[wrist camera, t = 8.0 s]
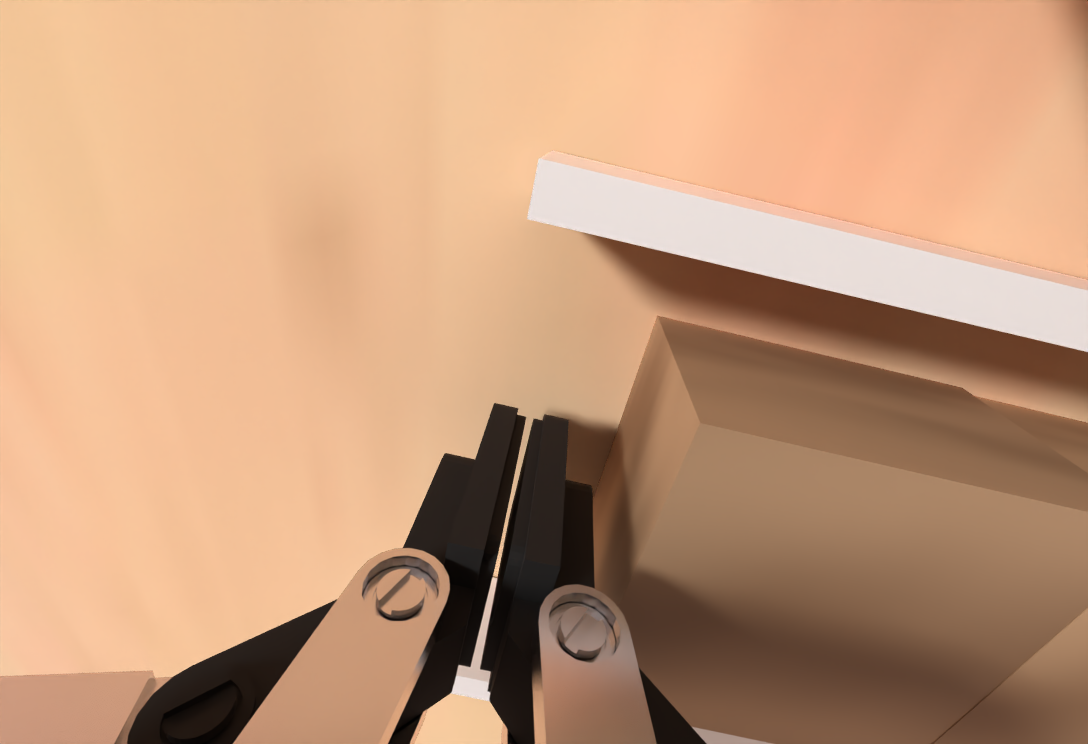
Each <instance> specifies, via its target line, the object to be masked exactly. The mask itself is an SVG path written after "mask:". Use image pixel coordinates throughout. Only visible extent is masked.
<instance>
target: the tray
mask: <svg viewBox="0 0 1088 744" xmlns="http://www.w3.org/2000/svg"><path fill="white" fill-rule="evenodd" d="M527 219H529V220H533V221H537V222H541V223H546V224H550V225H554V226H558V227H563V228H567V229H571V230H575V231H579V232H584V233H588V234H592V235H596V236H601V237H605V238H609V239H613V240H617V241H622V242H626V243H630V244H634V245H639V246H643V247H647V248H651V249H655V250H660V251H664V252H668V253H672V254H676V255H681V256H685V257H689V258H693V259H698V260H702V261H706V262H710V263H714V264H719V265H723V266H727V267H731V268H736V269H740V270H744V271H748V272H752V273H757V274H761V275H765V276H769V277H774V278H778V279H782V280H786V281H790V282H795V283H799V284H803V285H807V286H811V287H816V288H820V289H824V290H828V291H833V292H837V293H841V294H845V295H849V296H854V297H858V298H862V299H866V300H871V301H875V302H879V303H883V304H887V305H892V306H896V307H900V308H904V309H908V310H913V311H917V312H921V313H925V314H930V315H934V316H938V317H942V318H946V319H951V320H955V321H959V322H963V323H968V324H972V325H976V326H980V327H984V328H989V329H993V330H997V331H1001V332H1006V333H1010V334H1014V335H1018V336H1022V337H1027V338H1031V339H1035V340H1039V341H1043V342H1048V343H1052V344H1056V345H1060V346H1065V347H1069V348H1073V349H1077V350H1081V351H1086V352H1088V280H1087V279H1083V278H1078V277H1074V276H1070V275H1066V274H1062V273H1058V272H1054V271H1050V270H1045V269H1041V268H1037V267H1033V266H1029V265H1025V264H1021V263H1016V262H1012V261H1008V260H1004V259H1000V258H996V257H992V256H987V255H983V254H979V253H975V252H971V251H967V250H963V249H959V248H954V247H950V246H946V245H942V244H938V243H934V242H930V241H925V240H921V239H917V238H913V237H909V236H905V235H901V234H896V233H892V232H888V231H884V230H880V229H876V228H872V227H868V226H863V225H859V224H855V223H851V222H847V221H843V220H839V219H834V218H830V217H826V216H822V215H818V214H814V213H810V212H806V211H801V210H797V209H793V208H789V207H785V206H781V205H777V204H772V203H768V202H764V201H760V200H756V199H752V198H748V197H743V196H739V195H735V194H731V193H727V192H723V191H719V190H715V189H710V188H706V187H702V186H698V185H694V184H690V183H686V182H681V181H677V180H673V179H669V178H665V177H661V176H657V175H652V174H648V173H644V172H640V171H636V170H632V169H628V168H624V167H619V166H615V165H611V164H607V163H603V162H599V161H595V160H590V159H586V158H582V157H578V156H574V155H570V154H566V153H561V152H557V151H553V150H552V151H550V152H549V153H547V154H545V155H544V156H542V157H540V158H539V160H538V165H537V171H536V176H535V181H534V186H533V191H532V197H531V202H530V207H529V212H528V217H527ZM496 583H497V578H494V577H492V581H491V585H490V589H489V593H488V597H487V601H486V606H485V610H484V614H483V618H482V622H481V626H480V630H479V634H478V638H477V642H476V647H475V651H474V655H473V659H472V663H471V667H466V666H462V665H459V666H458V670H457V674H456V678H455V683H454V685H453V689H452V692H451V693H452V694H457V695H462V696H466V697H471V698H476V699H481V700H486V701H489V698H490V692H487V690H488V685H489V679H490V673H491V672H490V671H485V670H481V669H480V665H481V660H482V655H483V650H484V645H485V639H486V634H487V629H488V624H489V619H490V614H491V609H492V604H493V599H494V593H495V588H496ZM692 728H693V729H694V730H695V731H696V732H697V733H698V735H699V736H700V737H701V738H702V739H703V740H704V741H705V742H706V744H772V743H767V742H763V741H758V740H753V739H748V738H743V737H739V736H734V735H729V734H724V733H719V732H715V731H710V730H705V729H700V728H695V727H692Z"/></svg>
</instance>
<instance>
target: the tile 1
mask: <svg viewBox="0 0 1088 744" xmlns="http://www.w3.org/2000/svg"><path fill="white" fill-rule="evenodd" d="M593 536H594V581H595V589H596V590H598V591H600V592H602V593H604V594H605V595H606V596H607V597H609V598H610V599H611V600H612V601H613V602H614V603H616V605H617V606H618V608H619V609H620V610H621V612H622V613H623V614H624V616H625V619H626V622H627V624H628V627H629V630H630V634H631V638H632V642H633V646H634V651H635V655H636V659H637V663H638V667H639V668H640V669H641V670H642V671H643V673H644V674H645V675H646V676H647V677H648V678H649V679H650V680H651V682H652V683H653V684H654V685H655V686H656V687H657V688H658V690H659V691H660V692H661V693H662V694H663V695H664V696H665V697H666V699H667V700H668V701H669V702H670V703H671V704H672V705H673V706H674V708H675V709H676V710H677V711H678V712H679V713H680V714H681V715H682V717H683V718H684V719H685V720H686V721H687V722H688V723H689V724H690V726H691V727H695V728H700V729H705V730H710V731H715V732H719V733H724V734H729V735H734V736H739V737H743V738H748V739H753V740H758V741H763V742H767V743H772V744H932V743H933V742H934V741H935V740H937V739H938V738H939V737H940V736H941V735H942V734H943V733H945V732H946V731H947V730H948V729H949V728H950V727H951V726H953V725H954V724H955V723H956V722H957V721H958V720H960V719H961V718H962V717H963V716H964V715H965V714H966V713H968V712H969V711H970V710H971V709H972V708H973V707H974V706H976V705H977V704H978V703H979V702H980V701H981V700H982V699H984V698H985V697H986V696H987V695H988V694H989V693H991V692H992V691H993V690H994V689H995V688H996V687H997V686H999V685H1000V684H1001V683H1002V682H1003V681H1004V680H1005V679H1007V678H1008V677H1009V676H1010V675H1011V674H1012V673H1013V672H1015V671H1016V670H1017V669H1018V668H1019V667H1020V666H1022V665H1023V664H1024V663H1025V662H1026V661H1027V660H1028V659H1030V658H1031V657H1032V656H1033V655H1034V654H1035V653H1036V652H1038V651H1039V650H1040V649H1041V648H1042V647H1043V646H1044V645H1046V644H1047V643H1048V642H1049V641H1050V640H1051V639H1052V638H1054V637H1055V636H1056V635H1057V634H1058V633H1059V632H1061V631H1062V630H1063V629H1064V628H1065V627H1066V626H1067V625H1069V624H1070V623H1071V622H1072V621H1073V620H1074V619H1075V618H1077V617H1078V616H1079V615H1080V614H1081V613H1082V612H1083V611H1085V610H1086V609H1087V608H1088V473H1087V472H1085V471H1084V470H1083V469H1081V468H1080V467H1078V466H1077V465H1075V464H1074V463H1072V462H1071V461H1069V460H1068V459H1066V458H1065V457H1063V456H1062V455H1060V454H1059V453H1057V452H1056V451H1054V450H1053V449H1052V448H1050V447H1049V446H1047V445H1046V444H1044V443H1043V442H1041V441H1040V440H1038V439H1037V438H1035V437H1034V436H1032V435H1031V434H1029V433H1028V432H1026V431H1025V430H1023V429H1022V428H1021V427H1019V426H1018V425H1016V424H1015V423H1013V422H1012V421H1010V420H1009V419H1007V418H1006V417H1004V416H1003V415H1001V414H1000V413H998V412H997V411H995V410H994V409H992V408H991V407H990V406H988V405H987V404H985V403H984V402H982V401H981V400H979V399H978V398H976V397H975V396H973V395H972V394H970V393H969V392H967V391H966V390H964V389H963V388H960V387H956V386H952V385H948V384H943V383H939V382H935V381H931V380H926V379H922V378H918V377H914V376H910V375H905V374H901V373H897V372H893V371H888V370H884V369H880V368H876V367H872V366H867V365H863V364H859V363H855V362H850V361H846V360H842V359H838V358H834V357H829V356H825V355H821V354H817V353H812V352H808V351H804V350H800V349H796V348H791V347H787V346H783V345H779V344H774V343H770V342H766V341H762V340H757V339H753V338H749V337H745V336H741V335H736V334H732V333H728V332H724V331H719V330H715V329H711V328H707V327H703V326H698V325H694V324H690V323H686V322H681V321H677V320H673V319H669V318H665V317H660V316H657V319H656V321H655V324H654V327H653V330H652V333H651V336H650V339H649V341H648V344H647V347H646V350H645V353H644V356H643V358H642V361H641V364H640V367H639V370H638V373H637V376H636V378H635V381H634V384H633V387H632V390H631V393H630V395H629V398H628V401H627V404H626V407H625V410H624V413H623V415H622V418H621V421H620V424H619V427H618V430H617V432H616V435H615V438H614V441H613V444H612V447H611V450H610V452H609V455H608V458H607V461H606V464H605V467H604V469H603V472H602V475H601V478H600V481H599V484H598V486H597V489H596V492H595V495H594V498H593Z"/></svg>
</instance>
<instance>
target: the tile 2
mask: <svg viewBox="0 0 1088 744" xmlns="http://www.w3.org/2000/svg"><path fill="white" fill-rule="evenodd" d="M975 397H976V396H975ZM976 398H978V399H979V400H981V401H982V402H984V403H985V404H987V405H988V406H990V407H991V408H992V409H994V410H995V411H997V412H998V413H1000V414H1001V415H1003V416H1004V417H1006V418H1007V419H1009V420H1010V421H1012V422H1013V423H1015V424H1016V425H1018V426H1019V427H1021V428H1022V429H1023V430H1025V431H1026V432H1028V433H1029V434H1031V435H1032V436H1034V437H1035V438H1037V439H1038V440H1040V441H1041V442H1043V443H1044V444H1046V445H1047V446H1049V447H1050V448H1052V449H1053V450H1054V451H1056V452H1057V453H1059V454H1060V455H1062V456H1063V457H1065V458H1066V459H1068V460H1069V461H1071V462H1072V463H1074V464H1075V465H1077V466H1078V467H1080V468H1081V469H1083V470H1084V471H1085V472H1087V473H1088V423H1086V422H1082V421H1077V420H1073V419H1069V418H1065V417H1060V416H1056V415H1052V414H1048V413H1044V412H1039V411H1035V410H1031V409H1027V408H1022V407H1018V406H1014V405H1010V404H1006V403H1001V402H997V401H993V400H989V399H984V398H980V397H976ZM932 744H1088V608H1087V609H1086V610H1085V611H1083V612H1082V613H1081V614H1080V615H1079V616H1078V617H1077V618H1075V619H1074V620H1073V621H1072V622H1071V623H1070V624H1069V625H1067V626H1066V627H1065V628H1064V629H1063V630H1062V631H1061V632H1059V633H1058V634H1057V635H1056V636H1055V637H1054V638H1052V639H1051V640H1050V641H1049V642H1048V643H1047V644H1046V645H1044V646H1043V647H1042V648H1041V649H1040V650H1039V651H1038V652H1036V653H1035V654H1034V655H1033V656H1032V657H1031V658H1030V659H1028V660H1027V661H1026V662H1025V663H1024V664H1023V665H1022V666H1020V667H1019V668H1018V669H1017V670H1016V671H1015V672H1013V673H1012V674H1011V675H1010V676H1009V677H1008V678H1007V679H1005V680H1004V681H1003V682H1002V683H1001V684H1000V685H999V686H997V687H996V688H995V689H994V690H993V691H992V692H991V693H989V694H988V695H987V696H986V697H985V698H984V699H982V700H981V701H980V702H979V703H978V704H977V705H976V706H974V707H973V708H972V709H971V710H970V711H969V712H968V713H966V714H965V715H964V716H963V717H962V718H961V719H960V720H958V721H957V722H956V723H955V724H954V725H953V726H951V727H950V728H949V729H948V730H947V731H946V732H945V733H943V734H942V735H941V736H940V737H939V738H938V739H937V740H935V741H934V742H933V743H932Z"/></svg>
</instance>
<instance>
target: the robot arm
mask: <svg viewBox="0 0 1088 744" xmlns="http://www.w3.org/2000/svg"><path fill="white" fill-rule="evenodd" d="M517 412H518V408H514V407H510V406H505V405H501V404H496V403H494V405H493V408H492V411H491V414H490V417H489V420H488V423H487V426H486V429H485V432H484V435H483V438H482V441H481V444H480V447H479V450H478V453H477V456H476V459H475V460H474V459H470V458H465V457H461V456H456V455H452V454H447V453H445V454H444V456H443V458H442V460H441V462H440V464H439V467H438V469H437V471H436V473H435V476H434V478H433V480H432V483H431V485H430V487H429V489H428V492H427V494H426V496H425V499H424V501H423V503H422V506H421V508H420V510H419V512H418V515H417V517H416V519H415V522H414V524H413V526H412V528H411V531H410V533H409V535H408V538H407V540H406V542H405V544H404V547H403V548H398V549H392V550H389V551H385V552H382V553H380V554H378V555H376V556H375V557H373V558H371V559H370V560H368V561H367V562H366V563H365V564H364V565H363V566H362V567H361V568H360V569H359V570H358V572H357V573H356V575H355V576H354V577H353V579H352V580H351V581H350V583H349V584H348V586H347V587H346V588H345V590H344V591H343V592H342V594H341V595H340V597H339V598H338V599H337V600H335V601H332V602H330V603H328V604H326V605H324V606H322V607H319V608H317V609H315V610H313V611H311V612H308V613H306V614H304V615H302V616H300V617H298V618H295V619H293V620H291V621H289V622H287V623H284V624H282V625H280V626H278V627H276V628H274V629H271V630H269V631H267V632H265V633H263V634H260V635H258V636H256V637H254V638H252V639H250V640H247V641H245V642H243V643H241V644H239V645H236V646H234V647H232V648H230V649H228V650H226V651H223V652H221V653H219V654H217V655H215V656H212V657H210V658H208V659H206V660H204V661H202V662H199V663H197V664H195V665H193V666H191V667H189V668H188V669H186V670H184V671H182V672H181V673H179V674H177V675H175V676H174V677H164V678H155V677H154V673H153V671H130V672H103V673H77V674H50V675H23V676H0V744H414V743H415V741H416V739H417V736H418V734H419V731H420V729H421V727H422V724H423V722H424V719H425V716H426V712H427V709H428V708H430V707H431V706H433V705H434V704H435V703H437V702H438V701H440V700H441V699H443V698H444V697H446V696H447V695H449V694H450V693H451V692H452V689H453V685H454V683H455V678H456V674H457V670H458V666H459V665H462V666H466V667H471V663H472V659H473V655H474V651H475V647H476V642H477V638H478V634H479V630H480V626H481V622H482V618H483V614H484V610H485V606H486V601H487V597H488V593H489V589H490V585H491V581H492V577H493V573H494V569H495V564H496V560H497V556H498V551H499V547H500V542H501V537H502V533H503V528H504V523H505V518H506V513H507V508H508V503H509V498H510V494H511V489H512V484H513V479H514V474H515V469H516V464H517V459H518V455H519V450H520V445H521V440H522V435H523V430H524V425H525V420H526V417H524V416H520V415H517ZM568 423H569V421H568V420H567V419H563V418H558V417H554V416H549V415H544V417H543V421H542V420H538V419H534V420H533V423H532V427H531V431H530V435H529V439H528V443H527V448H526V452H525V456H524V460H523V464H522V468H521V472H520V476H519V480H518V484H517V488H516V492H515V496H514V500H513V504H512V508H511V513H510V517H509V522H508V527H507V532H506V537H505V542H504V547H503V552H502V558H501V563H500V568H499V573H498V578H497V583H496V588H495V593H494V599H493V604H492V609H491V614H490V619H489V624H488V629H487V634H486V639H485V645H484V650H483V655H482V660H481V665H480V669H481V670H485V671H490V672H491V673H490V679H489V685H488V690H487V692H490V698H489V701H490V702H491V704H492V705H493V707H494V709H495V710H496V712H497V713H498V715H499V716H500V718H501V720H502V721H503V727H502V737H501V744H706V742H705V741H704V740H703V739H702V738H701V737H700V736H699V735H698V733H697V732H696V731H695V730H694V729H693V728H692V727H691V726H690V724H689V723H688V722H687V721H686V720H685V719H684V718H683V717H682V715H681V714H680V713H679V712H678V711H677V710H676V709H675V708H674V706H673V705H672V704H671V703H670V702H669V701H668V700H667V699H666V697H665V696H664V695H663V694H662V693H661V692H660V691H659V690H658V688H657V687H656V686H655V685H654V684H653V683H652V682H651V680H650V679H649V678H648V677H647V676H646V675H645V674H644V673H643V671H642V670H641V669H640V668H639V667H638V663H637V659H636V655H635V651H634V646H633V642H632V638H631V634H630V630H629V627H628V624H627V622H626V619H625V616H624V614H623V613H622V612H621V610H620V609H619V608H618V606H617V605H616V603H614V602H613V601H612V600H611V599H610V598H609V597H607V596H606V595H605V594H604V593H602V592H600V591H598V590H596V589H595V581H594V536H593V493H592V487H591V485H586V484H582V483H577V482H573V481H569V480H565V478H566V460H567V442H568Z"/></svg>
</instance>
